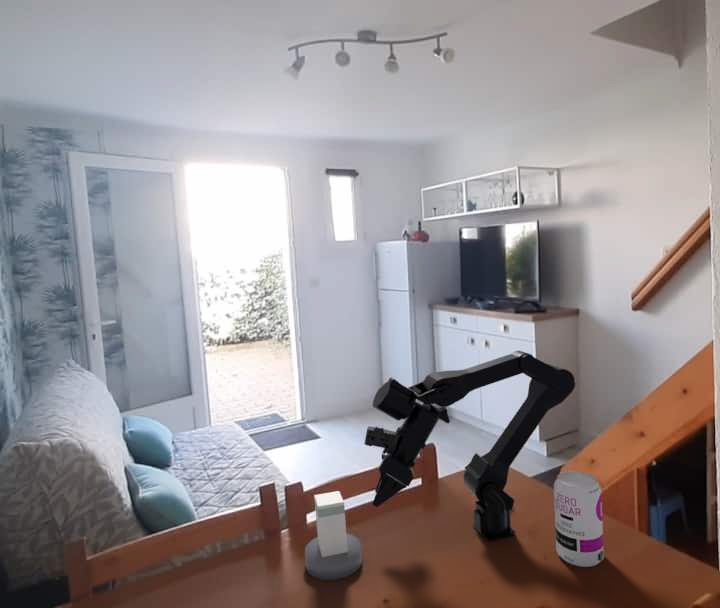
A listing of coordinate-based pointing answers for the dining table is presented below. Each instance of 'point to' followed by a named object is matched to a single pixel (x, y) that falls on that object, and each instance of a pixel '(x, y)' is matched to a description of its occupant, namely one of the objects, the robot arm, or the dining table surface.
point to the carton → (331, 523)
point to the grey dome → (333, 560)
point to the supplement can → (578, 519)
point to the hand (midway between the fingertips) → (375, 499)
